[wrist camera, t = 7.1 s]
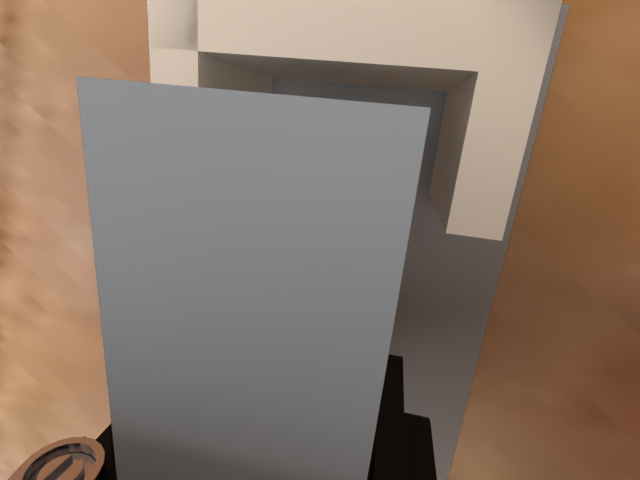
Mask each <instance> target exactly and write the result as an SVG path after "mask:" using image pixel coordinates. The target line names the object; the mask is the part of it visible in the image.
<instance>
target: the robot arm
mask: <svg viewBox="0 0 640 480" xmlns="http://www.w3.org/2000/svg"><path fill="white" fill-rule="evenodd" d="M8 480H117V474H116V464H115V454H114V444H113V434H112V424H110V425H109V426H108V427H107V428H106V430H105V431H104V432H103V433H102V434H101V435H100V436H99V437H98V438H97V439H96V440H94V439H91V438H87V437H72V438H67V439H63V440H59V441H57V442H54V443H52V444H50V445H47V446H45V447H44V448H42V449H40V450H39V451H37V452H36V453H34V454H33V455H31V456H30V457H29V458H28V459H27V460H26V461H25V462H24V463H23V464H22V465H21V466H20V467H19V468H18V469H17V470H16V471H15V472H14V473H13V474H12V476H11V477H10V478H9V479H8ZM367 480H437V475H436V467H435V458H434V449H433V440H432V431H431V423H430V419H429V417H424V416H419V415H414V414H410V413H405V412H404V382H403V357H402V356H396V355H391V354H389V355H388V361H387V367H386V372H385V378H384V384H383V390H382V396H381V401H380V407H379V413H378V419H377V425H376V431H375V436H374V442H373V448H372V454H371V460H370V466H369V471H368V477H367Z"/></svg>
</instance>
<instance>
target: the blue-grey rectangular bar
mask: <svg viewBox="0 0 640 480" xmlns="http://www.w3.org/2000/svg"><path fill="white" fill-rule="evenodd" d="M76 81H77V90H78V100H79V110H80V120H81V130H82V139H83V149H84V159H85V169H86V179H87V189H88V198H89V208H90V218H91V228H92V238H93V248H94V257H95V267H96V277H97V287H98V297H99V306H100V316H101V326H102V336H103V346H104V356H105V365H106V375H107V385H108V395H109V405H110V415H111V424H112V434H113V444H114V454H115V464H116V474H117V480H367V477H368V471H369V466H370V460H371V454H372V448H373V442H374V436H375V431H376V425H377V419H378V413H379V407H380V401H381V396H382V390H383V384H384V378H385V372H386V367H387V361H388V355H389V349H390V343H391V337H392V332H393V326H394V320H395V314H396V308H397V302H398V297H399V291H400V285H401V279H402V273H403V268H404V262H405V256H406V250H407V244H408V238H409V233H410V227H411V221H412V215H413V209H414V203H415V198H416V192H417V186H418V180H419V174H420V169H421V163H422V157H423V151H424V145H425V139H426V134H427V128H428V122H429V116H430V110H431V108H429V107H417V106H406V105H395V104H383V103H372V102H361V101H349V100H338V99H327V98H315V97H304V96H293V95H281V94H270V93H259V92H247V91H236V90H225V89H213V88H202V87H191V86H179V85H168V84H157V83H146V82H134V81H123V80H112V79H100V78H89V77H78V76H76Z"/></svg>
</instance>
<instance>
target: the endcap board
mask: <svg viewBox="0 0 640 480" xmlns="http://www.w3.org/2000/svg"><path fill="white" fill-rule="evenodd" d="M562 1H563V0H147V8H148V31H149V53H150V76H151V83H157V84H168V85H179V86H191V87H202V88H213V89H225V90H236V91H247V92H259V93H270V94H281V95H293V96H304V97H315V98H327V99H338V100H349V101H361V102H372V103H383V104H395V105H406V106H417V107H429V108H431V110H430V116H429V122H428V128H427V134H426V139H425V145H424V151H423V157H422V163H421V169H420V174H419V180H418V186H417V192H416V198H415V203H414V209H413V215H412V221H411V227H410V233H409V238H408V244H407V250H406V256H405V262H404V268H403V273H402V279H401V285H400V291H399V297H398V302H397V308H396V314H395V320H394V326H393V332H392V337H391V343H390V349H389V354H391V355H396V356H402V357H403V382H404V412H405V413H410V414H414V415H419V416H424V417H429V419H430V423H431V431H432V440H433V449H434V458H435V467H436V475H437V480H447V478H448V474H449V471H450V467H451V463H452V459H453V455H454V451H455V447H456V444H457V440H458V436H459V432H460V428H461V424H462V420H463V416H464V413H465V409H466V405H467V401H468V397H469V393H470V389H471V386H472V382H473V378H474V374H475V370H476V366H477V362H478V358H479V355H480V351H481V347H482V343H483V339H484V335H485V331H486V328H487V324H488V320H489V316H490V312H491V308H492V304H493V300H494V297H495V293H496V289H497V285H498V281H499V277H500V273H501V270H502V266H503V262H504V258H505V254H506V250H507V246H508V242H509V239H510V235H511V231H512V227H513V223H514V219H515V215H516V212H517V208H518V204H519V200H520V196H521V192H522V188H523V184H524V181H525V177H526V173H527V169H528V165H529V161H530V157H531V154H532V150H533V146H534V142H535V138H536V134H537V130H538V126H539V123H540V119H541V115H542V111H543V107H544V103H545V99H546V96H547V92H548V88H549V84H550V80H551V76H552V72H553V68H554V65H555V61H556V57H557V53H558V49H559V45H560V41H561V38H562V34H563V30H564V26H565V22H566V18H567V14H568V10H569V7H570V4H562Z"/></svg>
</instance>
